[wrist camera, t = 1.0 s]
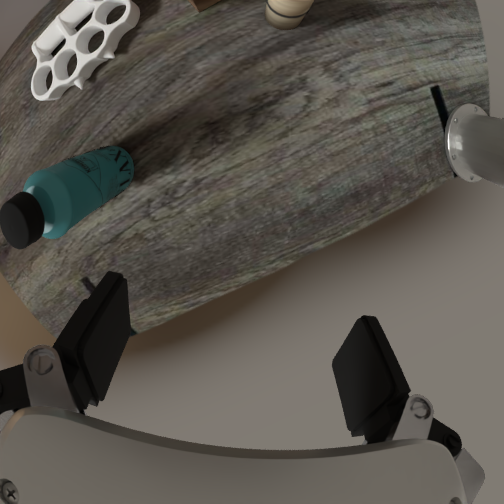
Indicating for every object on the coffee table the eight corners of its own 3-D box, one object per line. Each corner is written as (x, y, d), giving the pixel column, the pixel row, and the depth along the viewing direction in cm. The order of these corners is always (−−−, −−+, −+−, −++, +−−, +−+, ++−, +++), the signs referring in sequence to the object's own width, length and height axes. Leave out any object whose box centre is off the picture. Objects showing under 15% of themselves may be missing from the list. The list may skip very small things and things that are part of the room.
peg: (288, -4, 21) (302, -41, 12) (310, 22, 23) (332, -9, 14) (256, 10, 22) (259, -26, 13) (278, 36, 24) (290, 6, 15)
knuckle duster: (112, -23, 17) (158, 30, 23) (28, 61, 22) (61, 120, 28) (103, -31, 14) (149, 23, 20) (15, 60, 19) (47, 122, 25)
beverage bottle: (138, 193, 33) (48, 276, 15) (96, 186, 32) (-4, 257, 15) (143, 144, 30) (36, 189, 12) (99, 140, 29) (-16, 182, 12)
